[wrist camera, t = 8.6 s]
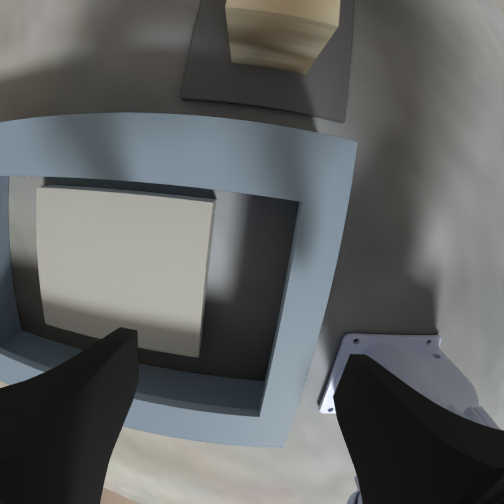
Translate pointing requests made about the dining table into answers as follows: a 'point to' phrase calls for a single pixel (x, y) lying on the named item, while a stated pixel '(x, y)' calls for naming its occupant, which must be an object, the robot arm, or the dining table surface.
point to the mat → (268, 70)
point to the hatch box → (171, 255)
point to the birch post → (280, 31)
